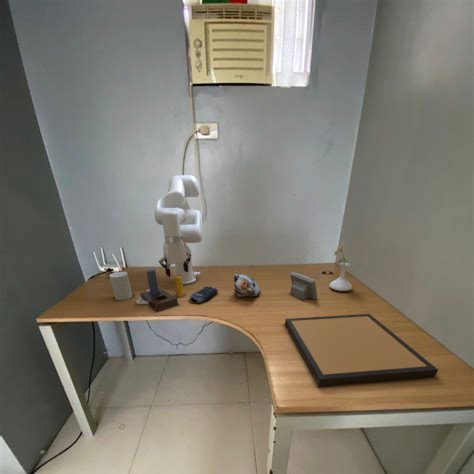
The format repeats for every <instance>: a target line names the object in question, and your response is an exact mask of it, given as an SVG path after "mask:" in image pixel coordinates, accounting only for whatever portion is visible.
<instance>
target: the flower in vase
mask: <svg viewBox="0 0 474 474" xmlns="http://www.w3.org/2000/svg"><path fill="white" fill-rule="evenodd" d="M346 245H347V243H346V242H343V243H341V245H340V246H338V247H337V249H336V250H335V251H334V254H333V256H338V255H339V254H340V253H342V258H341V259H339V260H338V261H337V264H339V266H340V275H339V276H338V278H336V279H334V280H333V281H331V282H330V283H329V288H330V289H332V290H334V291H336V292H337V291H338V292H348V291H351V290H352V289H353V286H352V284H351V283H350V282H349V281H348V280H347V278H346V272H347V269H348V268H349V267H350V265H351V264H350V263H349V256H348V255H346V256H345V255H344V251H343V250H344V248H345V247H346Z"/></svg>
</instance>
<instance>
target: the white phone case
mask: <svg viewBox="0 0 474 474" xmlns="http://www.w3.org/2000/svg"><path fill="white" fill-rule="evenodd" d="M149 290H150V289H147V290H146V291H149ZM136 305H148V302H145V301H144V300H142V299H141V296H140V297H139V298H138V299H137V300H136Z"/></svg>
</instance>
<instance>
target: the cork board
mask: <svg viewBox="0 0 474 474" xmlns="http://www.w3.org/2000/svg"><path fill="white" fill-rule="evenodd" d="M284 326H285V327H286V328H285V329H286V330H287V331H288V333H289V335H290V337H291V339H292V340H293V343H294V344H295V346H296V348H297V350H298V351H299V353H300V356H301V358H302V359H303V361H304V363H305V365H306V367H307V368H308V370H309V372H310V374H311V375H312V377H313V379H314V381H315V383H316V385H317V387H318V388H321V387H333V386H344V385H345V386H346V385H357V384H369V383H382V382H392V381H405V380H416V379H417V380H418V379H429V378H436V376H437V374H438V371H439V369H438V368H437V367H436V366H434V365H433V364H432V363H431V362H430V361H428V360H427V359H426V358H425V357H424V356H422V355H421V354H420V353H419V352H417V351H416V350H415V349H413V348H412V347H411V346H409V345H408V344H407V343H406V342H405V341H404V340H402V339H401V338H400V337H399V336H397V334H395V333H394V332H393V331H392V330H390V329H389V328H388V327H386V326H385V325H384V324H383V323H381V322H380V321H379V320H378V319H377V318H375V317H374V316H373V315H371V313H362V314H361V313H360V314H345V315H344V314H343V315H330V316H329V315H327V316H326V315H325V316H309V317H295V318H285V321H284Z"/></svg>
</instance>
